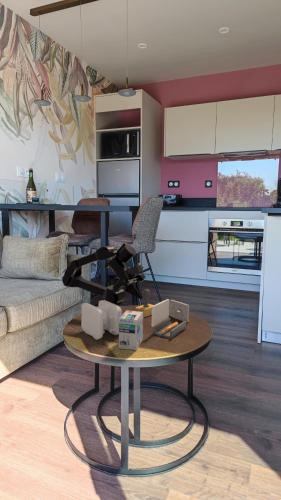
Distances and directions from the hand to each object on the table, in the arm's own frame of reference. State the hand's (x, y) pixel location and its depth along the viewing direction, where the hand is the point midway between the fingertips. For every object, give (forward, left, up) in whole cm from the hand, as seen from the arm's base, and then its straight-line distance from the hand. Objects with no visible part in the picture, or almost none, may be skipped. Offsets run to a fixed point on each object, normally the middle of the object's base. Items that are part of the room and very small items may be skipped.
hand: (141, 298), depth 138 cm
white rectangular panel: (+8, -5, -4) cm, 10 cm away
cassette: (+17, +11, -12) cm, 23 cm away
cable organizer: (-16, -11, -12) cm, 22 cm away
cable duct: (+12, -7, -11) cm, 18 cm away
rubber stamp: (+2, +16, -12) cm, 20 cm away
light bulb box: (-4, -21, -12) cm, 24 cm away
